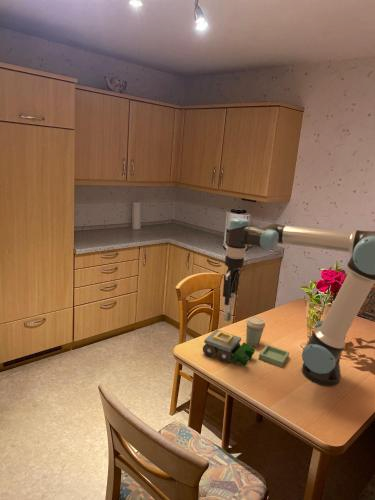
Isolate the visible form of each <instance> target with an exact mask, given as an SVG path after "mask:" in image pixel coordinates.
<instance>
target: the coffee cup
mask: <svg viewBox="0 0 375 500" xmlns="http://www.w3.org/2000/svg"><path fill="white" fill-rule="evenodd" d="M265 327H266V322H265V320H264V319H263V318H260V317H258V316H250V317H248V319H247V320H246V333H245V334H246V335H245V336H246V337H245V338H246V339H245V343H246V344H248V345H249V346H251V347H253V348H255V347H256V348H257V347H259V345H260V342H261V339H262V335H263V332H264V328H265Z"/></svg>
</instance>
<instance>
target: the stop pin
mask: <svg viewBox="0 0 375 500" xmlns="http://www.w3.org/2000/svg"><path fill="white" fill-rule="evenodd" d="M231 297H232V299H231V307H230V312H225V311H223V318H222V320H224V321H226V322H230V321H232V320H231V319H232V315H233V314H232V313H233V312H232V311H233V310H232V306H233V299H234V297H235V298H236V294H235V292H232V293H231ZM234 300H235V299H234Z"/></svg>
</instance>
